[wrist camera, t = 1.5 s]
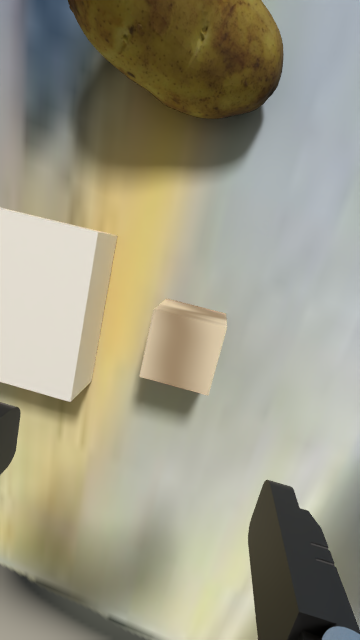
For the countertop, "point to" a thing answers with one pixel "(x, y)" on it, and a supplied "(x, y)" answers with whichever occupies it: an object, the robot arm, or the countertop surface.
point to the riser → (51, 302)
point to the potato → (190, 50)
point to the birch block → (183, 345)
